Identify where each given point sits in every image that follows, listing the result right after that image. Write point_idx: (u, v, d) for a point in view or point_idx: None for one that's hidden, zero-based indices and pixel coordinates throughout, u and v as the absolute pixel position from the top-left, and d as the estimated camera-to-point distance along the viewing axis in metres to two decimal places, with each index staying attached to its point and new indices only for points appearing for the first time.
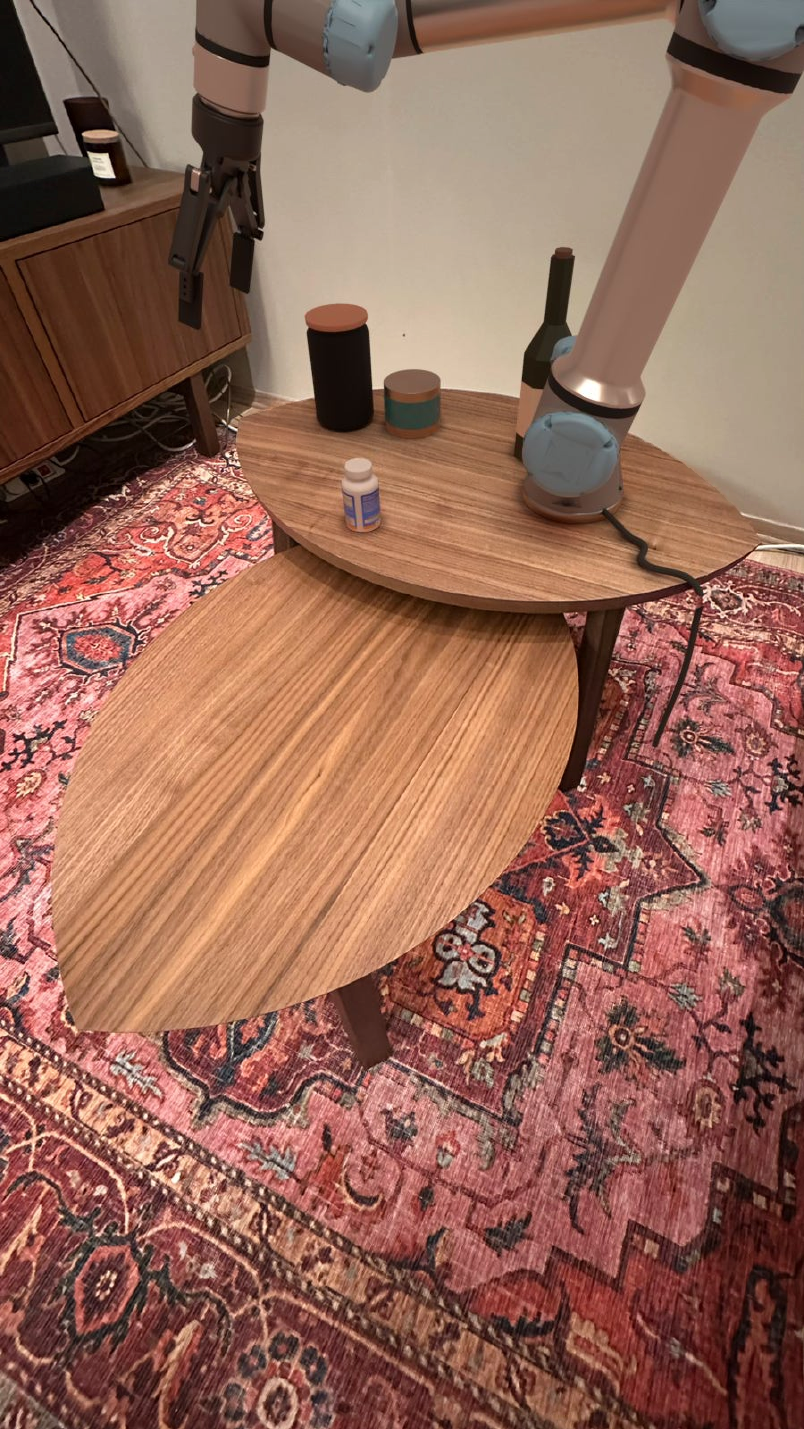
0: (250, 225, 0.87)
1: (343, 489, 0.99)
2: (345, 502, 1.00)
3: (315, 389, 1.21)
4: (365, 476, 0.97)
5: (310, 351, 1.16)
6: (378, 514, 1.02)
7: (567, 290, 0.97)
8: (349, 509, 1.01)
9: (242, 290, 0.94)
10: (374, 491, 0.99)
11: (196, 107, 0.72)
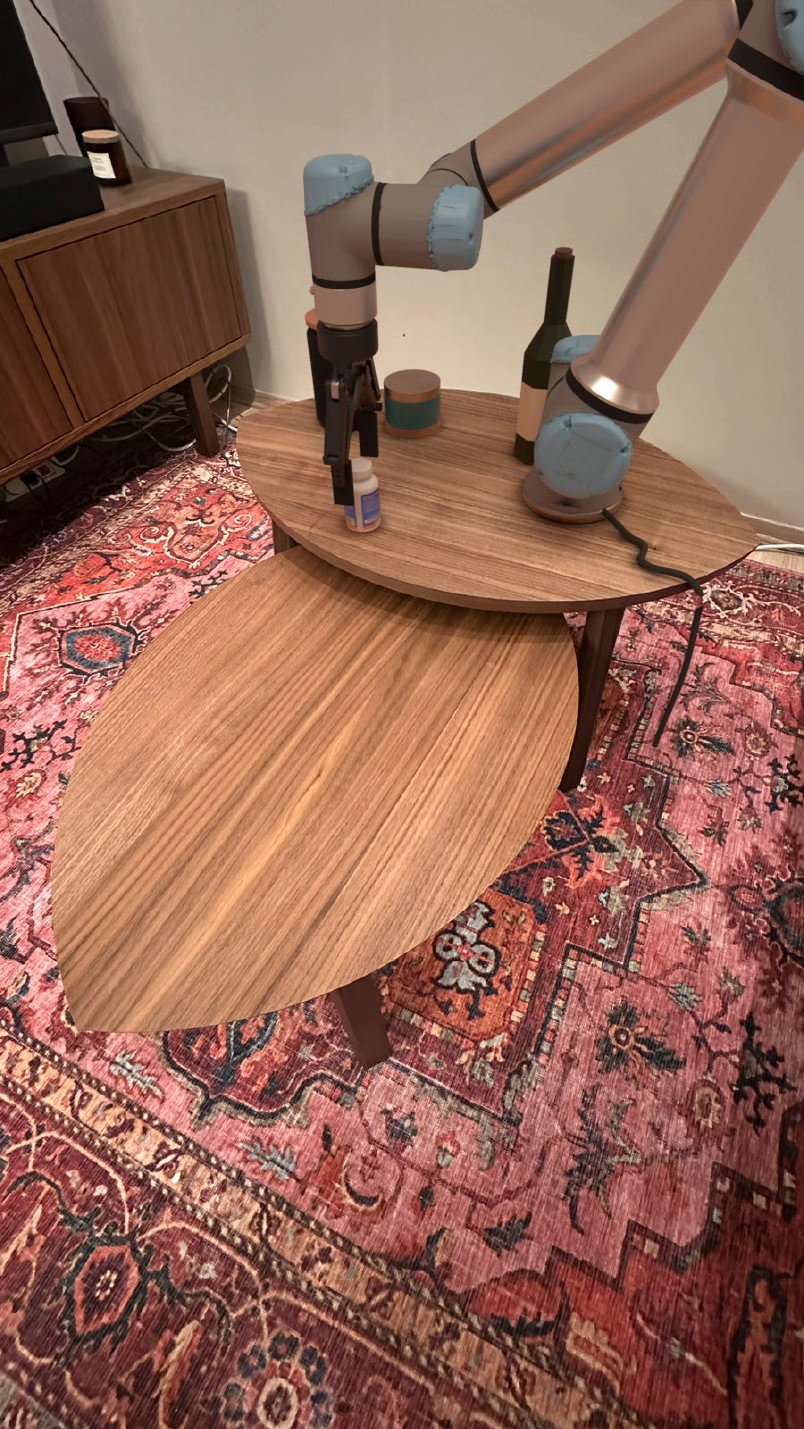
0: (372, 403, 0.97)
1: None
2: None
3: (315, 389, 1.21)
4: (365, 476, 0.97)
5: (310, 351, 1.16)
6: (378, 514, 1.02)
7: (567, 290, 0.97)
8: (349, 509, 1.01)
9: (373, 455, 1.03)
10: (374, 491, 0.99)
11: (323, 333, 0.82)
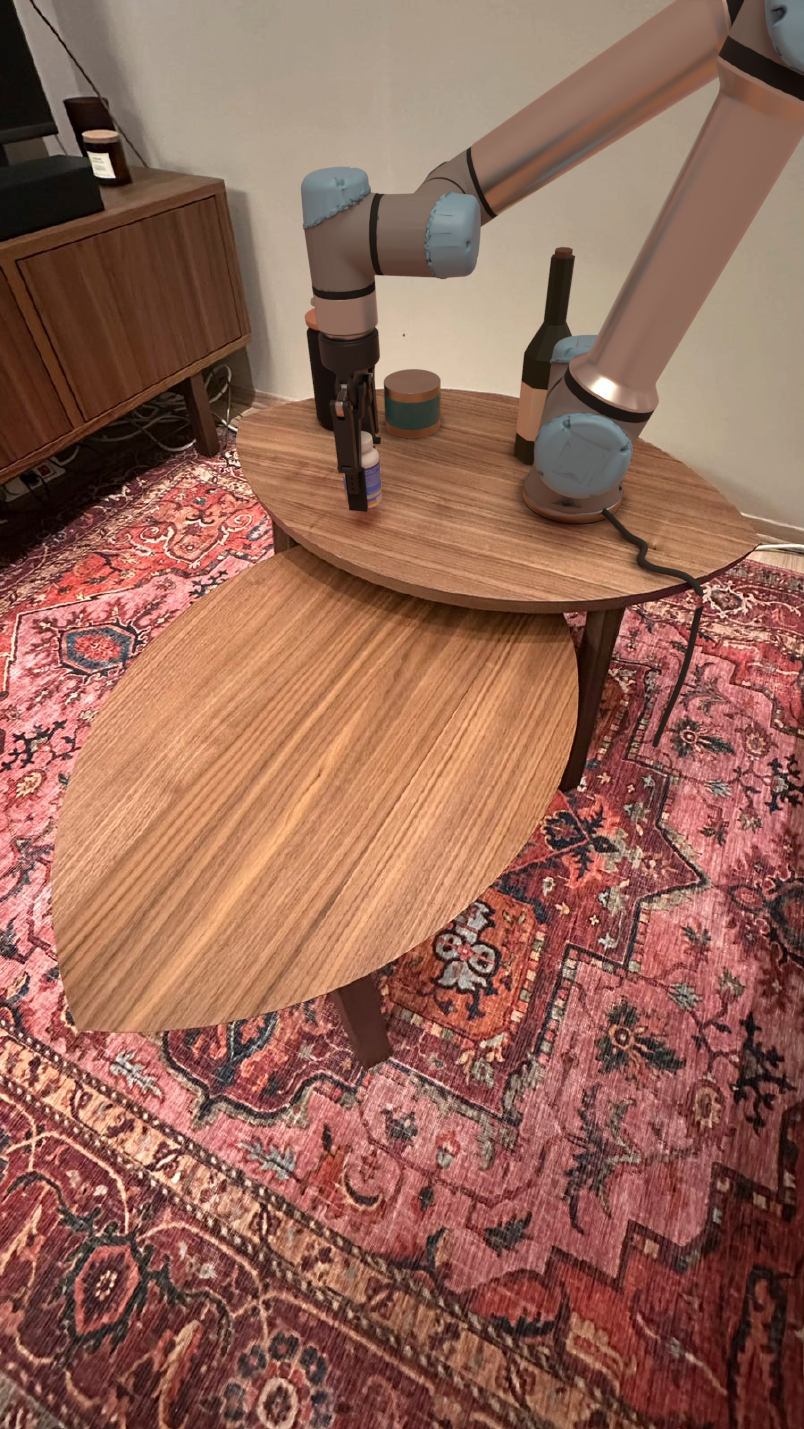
0: (371, 430, 0.96)
1: None
2: None
3: (315, 389, 1.21)
4: (365, 449, 0.94)
5: (310, 351, 1.16)
6: (379, 490, 0.99)
7: (567, 290, 0.97)
8: None
9: None
10: (375, 465, 0.96)
11: (324, 343, 0.83)
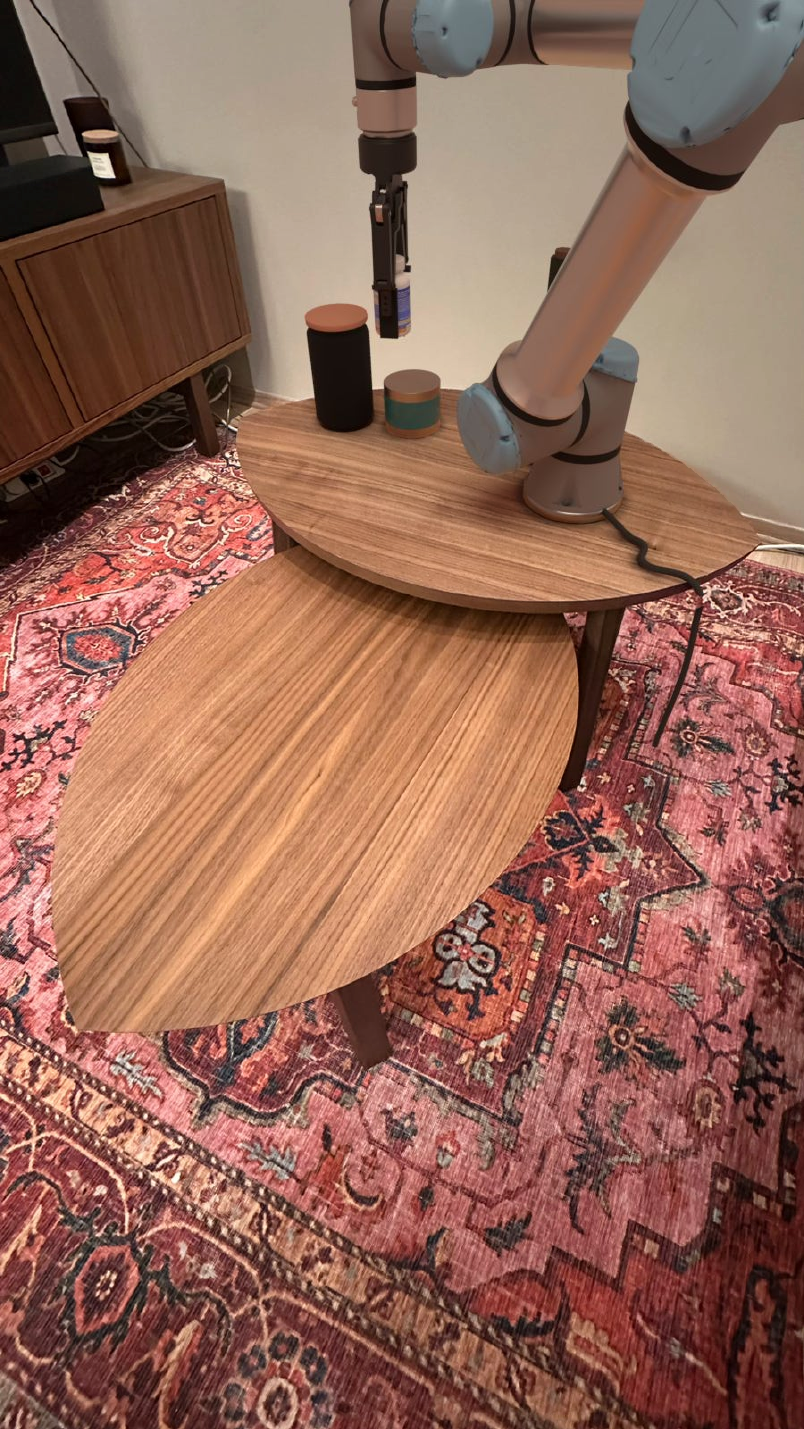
0: (402, 254, 0.99)
1: None
2: (376, 302, 1.00)
3: (315, 389, 1.21)
4: (397, 269, 0.96)
5: (310, 351, 1.16)
6: (409, 318, 1.02)
7: None
8: None
9: None
10: (407, 288, 0.98)
11: (365, 143, 0.86)
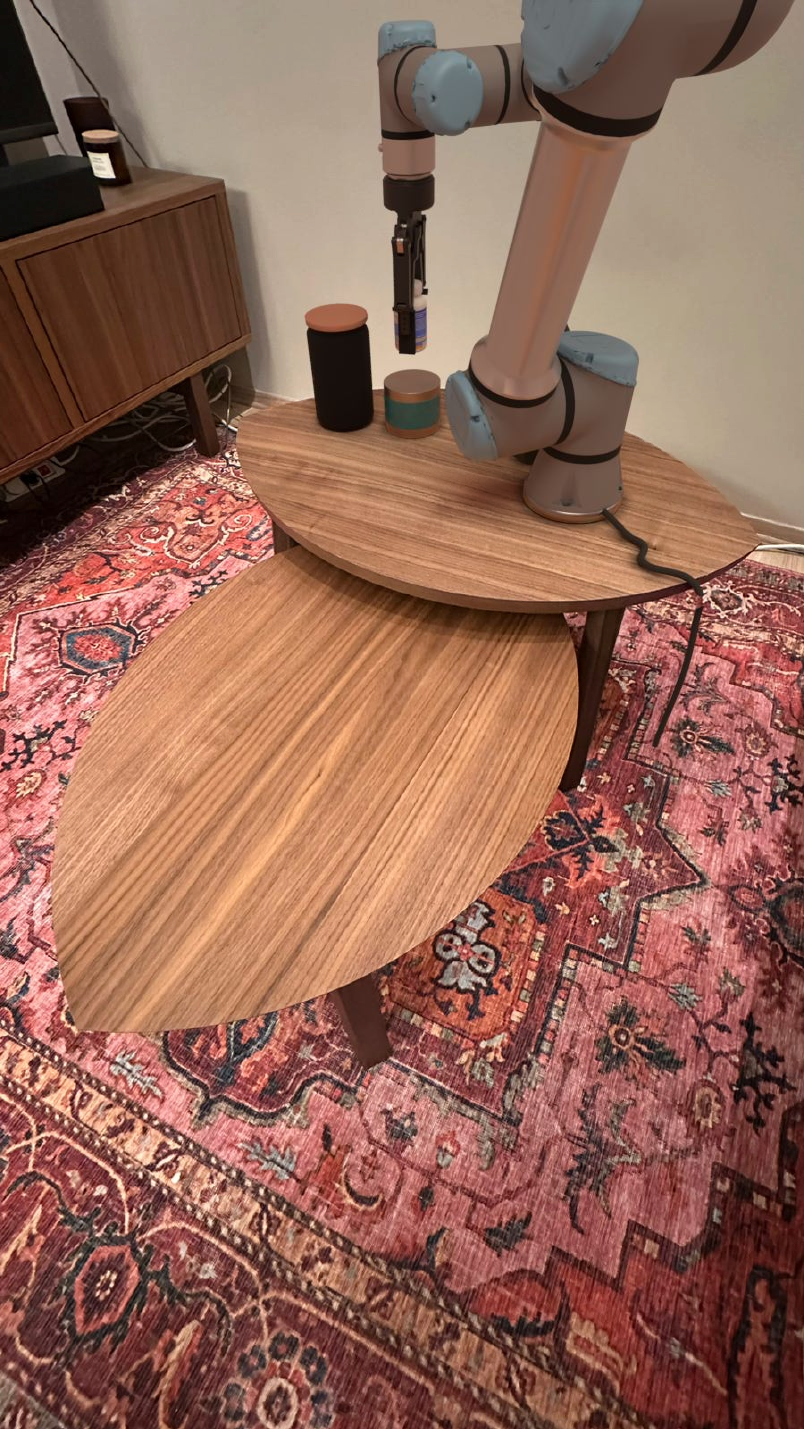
0: (420, 279, 1.10)
1: None
2: (396, 321, 1.11)
3: (315, 389, 1.21)
4: (416, 293, 1.08)
5: (310, 351, 1.16)
6: (425, 335, 1.13)
7: None
8: None
9: None
10: (423, 309, 1.10)
11: (389, 184, 0.97)
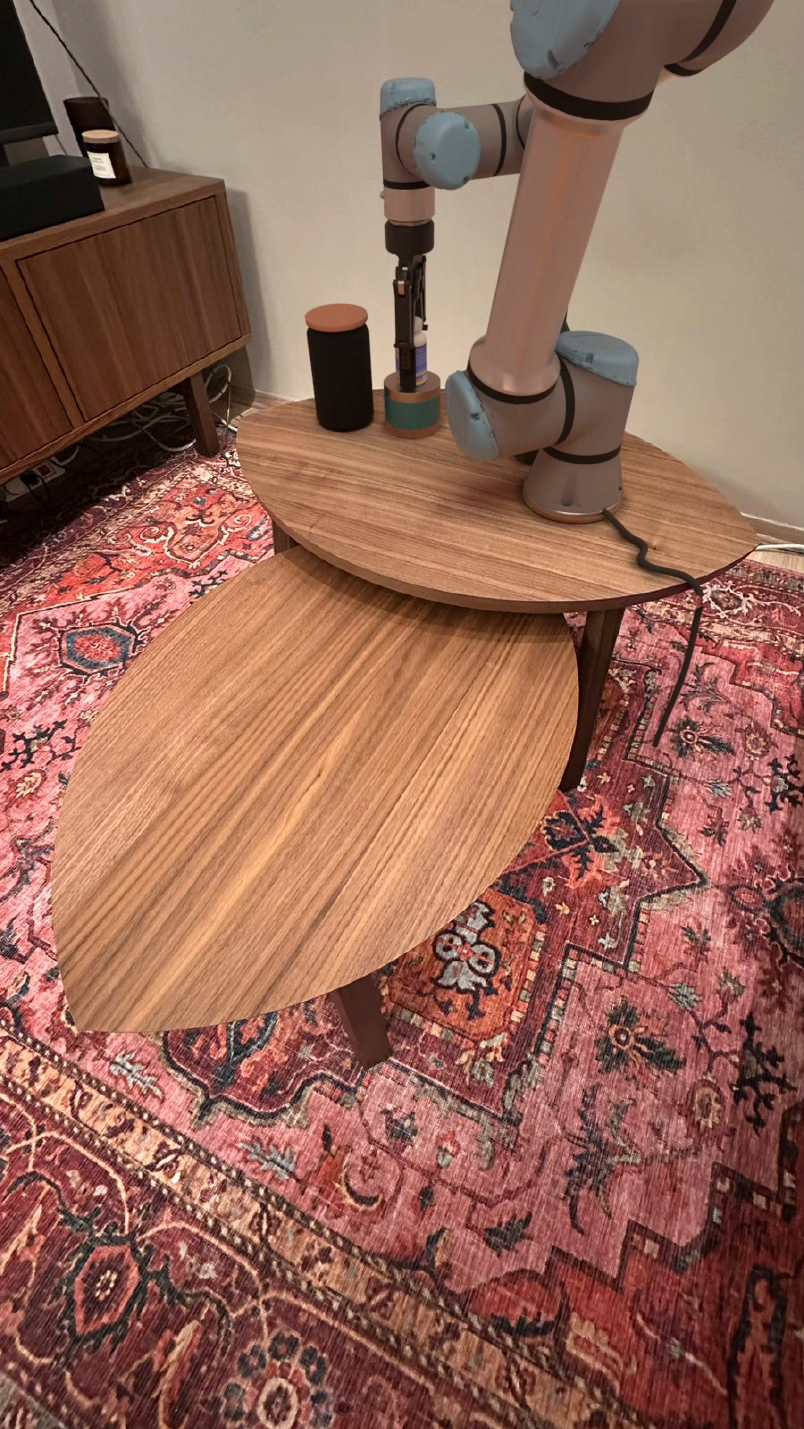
0: (421, 316, 1.14)
1: None
2: (397, 356, 1.15)
3: (315, 389, 1.21)
4: (416, 330, 1.12)
5: (310, 351, 1.16)
6: (425, 369, 1.17)
7: None
8: None
9: None
10: (424, 345, 1.14)
11: (390, 230, 1.01)
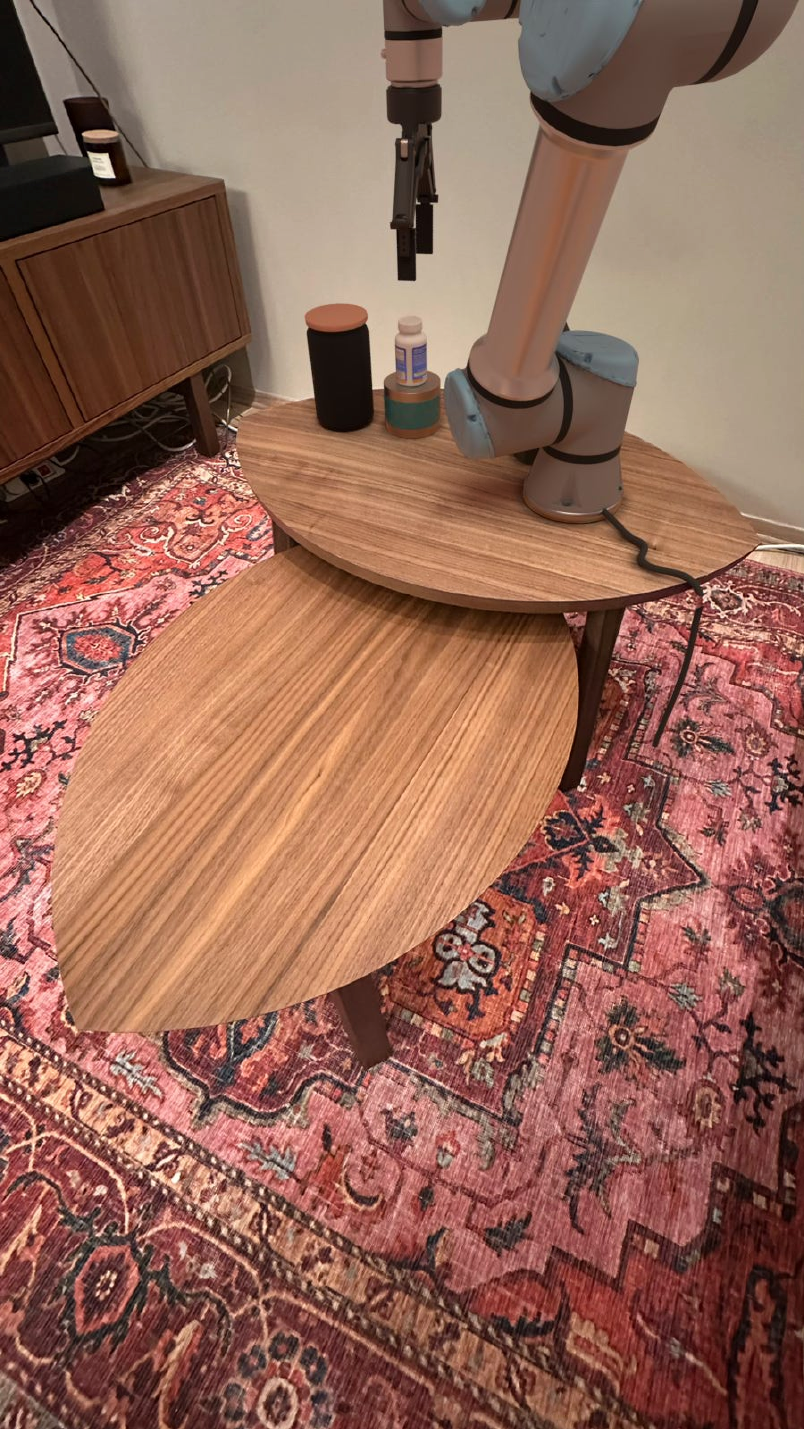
0: (430, 190, 1.05)
1: (396, 343, 1.14)
2: (397, 356, 1.15)
3: (315, 389, 1.21)
4: (416, 330, 1.12)
5: (310, 351, 1.16)
6: (425, 369, 1.17)
7: None
8: (401, 363, 1.15)
9: (428, 252, 1.11)
10: (424, 345, 1.14)
11: (393, 93, 0.90)
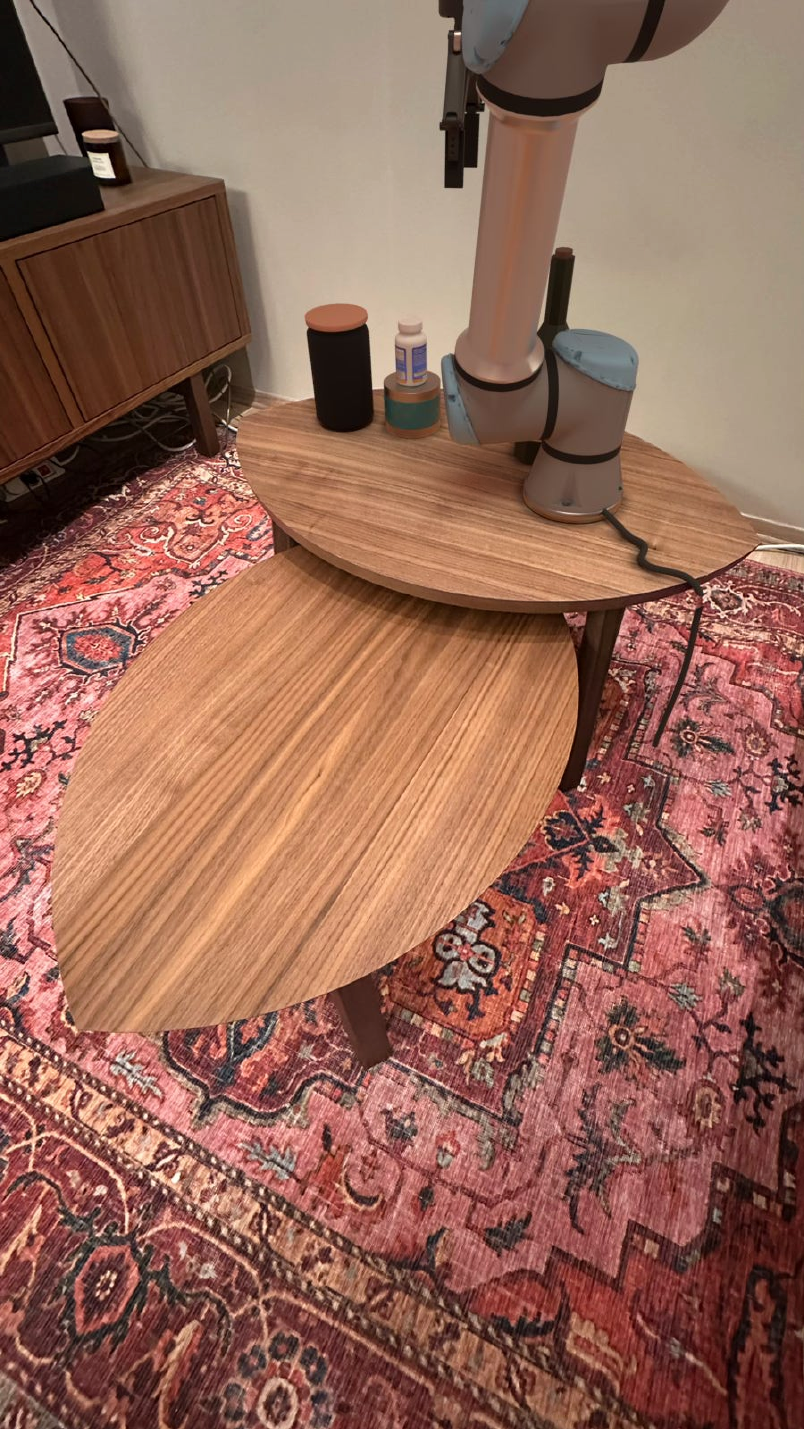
0: (477, 97, 1.02)
1: (396, 343, 1.14)
2: (397, 356, 1.15)
3: (315, 389, 1.21)
4: (416, 330, 1.12)
5: (310, 351, 1.16)
6: (425, 369, 1.17)
7: (567, 290, 0.98)
8: (401, 363, 1.15)
9: (472, 165, 1.09)
10: (424, 345, 1.14)
11: None
